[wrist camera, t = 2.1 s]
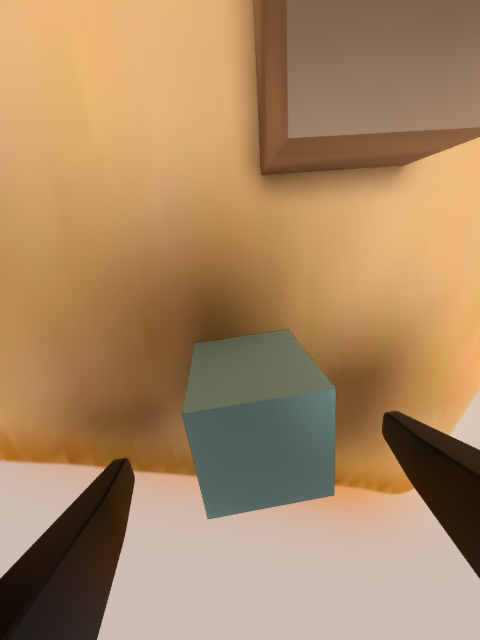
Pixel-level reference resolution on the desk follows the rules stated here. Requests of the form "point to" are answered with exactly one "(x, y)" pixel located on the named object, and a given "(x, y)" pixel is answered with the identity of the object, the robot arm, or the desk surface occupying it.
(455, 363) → the desk surface
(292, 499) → the teal block
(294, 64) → the walnut block
